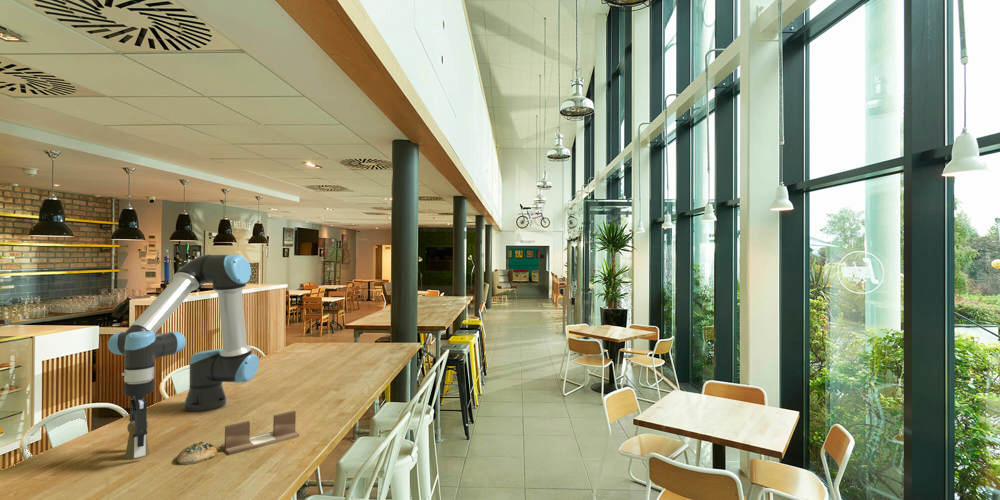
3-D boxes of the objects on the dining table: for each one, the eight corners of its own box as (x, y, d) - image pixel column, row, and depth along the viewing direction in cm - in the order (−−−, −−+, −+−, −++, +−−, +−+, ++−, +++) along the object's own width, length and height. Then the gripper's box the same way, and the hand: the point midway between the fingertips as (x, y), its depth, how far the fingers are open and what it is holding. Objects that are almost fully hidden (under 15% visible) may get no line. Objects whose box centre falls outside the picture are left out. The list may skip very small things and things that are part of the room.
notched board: (221, 446, 151) (222, 423, 151) (289, 429, 166) (290, 408, 166) (228, 455, 144) (229, 430, 145) (299, 436, 160) (299, 414, 160)
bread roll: (192, 449, 149) (194, 434, 149) (224, 454, 148) (227, 439, 148) (166, 465, 138) (168, 449, 138) (201, 471, 137) (203, 455, 137)
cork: (153, 453, 145) (154, 418, 146) (133, 460, 140) (134, 425, 140) (140, 450, 147) (141, 416, 148) (120, 457, 142) (121, 422, 142)
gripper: (119, 376, 150) (118, 443, 149) (128, 391, 133) (126, 466, 133) (148, 372, 155) (146, 436, 154) (159, 386, 138) (157, 458, 138)
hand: (137, 450), depth 144 cm, fingers open, 11 cm apart
